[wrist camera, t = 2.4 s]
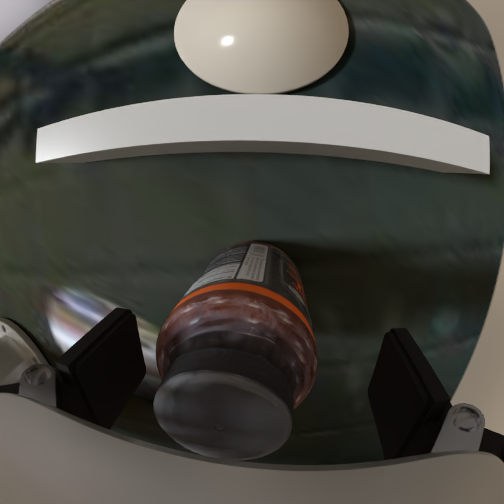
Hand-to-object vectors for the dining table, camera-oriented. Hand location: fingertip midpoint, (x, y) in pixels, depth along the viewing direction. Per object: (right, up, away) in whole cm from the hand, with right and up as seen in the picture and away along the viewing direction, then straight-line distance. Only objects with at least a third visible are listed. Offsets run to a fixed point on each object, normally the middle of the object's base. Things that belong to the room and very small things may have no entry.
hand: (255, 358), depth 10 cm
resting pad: (0, +18, +4) cm, 18 cm away
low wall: (0, +10, +6) cm, 12 cm away
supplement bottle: (0, +2, +8) cm, 8 cm away
